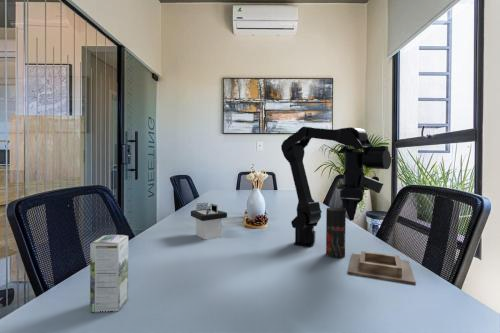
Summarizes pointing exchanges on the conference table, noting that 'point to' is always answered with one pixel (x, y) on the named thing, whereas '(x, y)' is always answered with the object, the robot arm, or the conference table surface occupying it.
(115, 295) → the syrup box
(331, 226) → the deodorant
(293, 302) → the conference table surface
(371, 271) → the holder
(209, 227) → the black-topped pedestal
